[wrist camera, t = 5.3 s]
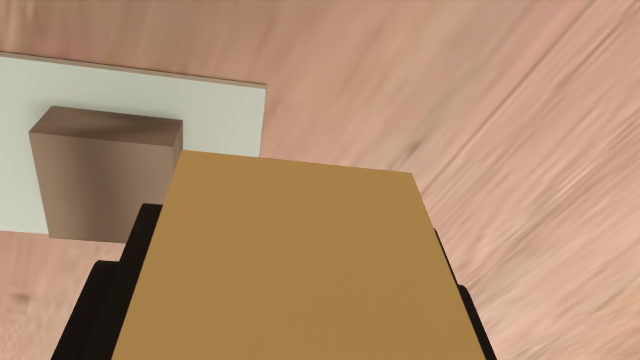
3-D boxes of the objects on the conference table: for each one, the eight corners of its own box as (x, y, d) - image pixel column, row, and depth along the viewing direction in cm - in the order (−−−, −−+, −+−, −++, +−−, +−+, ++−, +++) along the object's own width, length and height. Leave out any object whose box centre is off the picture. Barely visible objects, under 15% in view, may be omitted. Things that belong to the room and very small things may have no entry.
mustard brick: (411, 173, 11) (521, 450, 6) (364, 320, 13) (411, 591, 9) (182, 149, 10) (83, 443, 5) (181, 309, 13) (117, 600, 8)
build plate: (266, 85, 27) (266, 89, 26) (249, 243, 34) (249, 249, 33) (-44, 46, 25) (-51, 50, 24) (4, 224, 31) (-1, 230, 31)
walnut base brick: (182, 120, 27) (173, 147, 25) (182, 215, 31) (174, 246, 29) (52, 105, 26) (28, 132, 24) (68, 206, 30) (49, 237, 28)
